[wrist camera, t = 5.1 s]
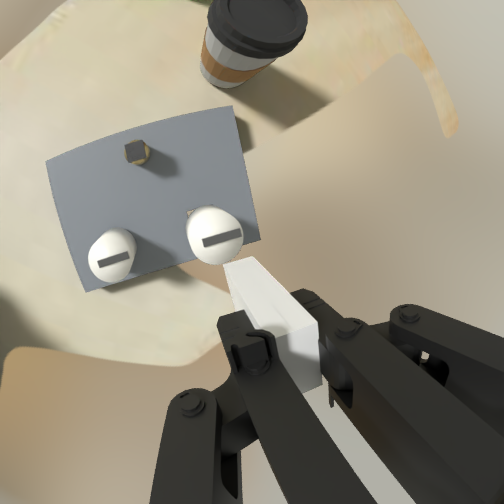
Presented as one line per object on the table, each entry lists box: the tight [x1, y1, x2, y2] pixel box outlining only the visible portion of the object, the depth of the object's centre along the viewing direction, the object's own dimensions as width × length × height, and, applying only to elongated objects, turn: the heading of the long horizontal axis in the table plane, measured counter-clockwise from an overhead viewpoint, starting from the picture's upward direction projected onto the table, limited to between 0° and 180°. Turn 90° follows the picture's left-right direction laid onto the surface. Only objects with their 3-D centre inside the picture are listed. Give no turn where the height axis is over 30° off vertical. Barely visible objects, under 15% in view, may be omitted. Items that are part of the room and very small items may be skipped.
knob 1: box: [88, 228, 137, 283], centre depth 27 cm, size 4×4×8 cm
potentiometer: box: [124, 139, 150, 165], centre depth 25 cm, size 2×2×4 cm
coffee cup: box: [200, 0, 308, 88], centre depth 22 cm, size 8×8×15 cm
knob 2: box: [186, 205, 243, 265], centre depth 26 cm, size 4×4×8 cm
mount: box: [45, 106, 261, 292], centre depth 30 cm, size 22×16×3 cm
